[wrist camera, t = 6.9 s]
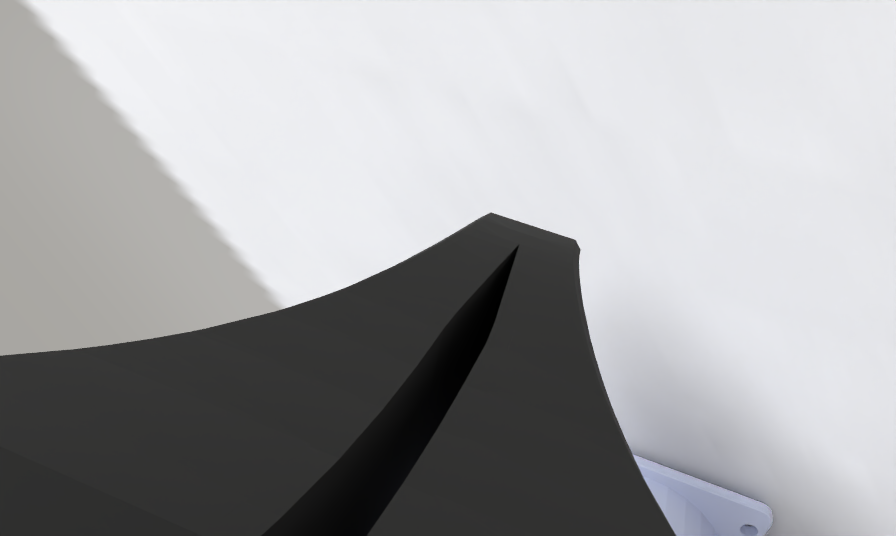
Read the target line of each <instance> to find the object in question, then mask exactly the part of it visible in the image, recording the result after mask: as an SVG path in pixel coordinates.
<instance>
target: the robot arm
mask: <svg viewBox="0 0 896 536" xmlns="http://www.w3.org/2000/svg"><path fill="white" fill-rule="evenodd" d="M579 254H580V248H579V246H578V244H577V242H576V240H574V239H571V238H568V237H565V236H561V235H558V234H555V233H552V232H549V231H546V230H543V229H540V228H537V227H534V226H531V225H528V224H525V223H521V222H518V221H515V220H512V219H509V218H506V217H503V216H500V215H497V214H494V213H489V214H487V215H485V216H483V217H481V218H479V219H477V220H476V221H474V222H472V223H471V224H469V225H467V226H466V227H464V228H462V229H461V230H459V231H457V232H456V233H454V234H452V235H450V236H449V237H447V238H445V239H444V240H442V241H440V242H438V243H437V244H435V245H433V246H431V247H429V248H427V249H425V250H424V251H422V252H420V253H418V254H416V255H414V256H412V257H410V258H409V259H407V260H405V261H403V262H401V263H399V264H397V265H395V266H393V267H391V268H389V269H387V270H384V271H382V272H380V273H378V274H375V275H373V276H371V277H369V278H367V279H364V280H362V281H360V282H358V283H356V284H353V285H351V286H349V287H346V288H344V289H341V290H339V291H336V292H333V293H331V294H328V295H325V296H322V297H319V298H316V299H313V300H310V301H307V302H304V303H301V304H298V305H295V306H292V307H289V308H285V309H282V310H279V311H276V312H272V313H267V314H264V315H260V316H255V317H251V318H247V319H243V320H239V321H235V322H231V323H227V324H223V325H219V326H214V327H210V328H206V329H202V330H197V331H192V332H187V333H181V334H175V335H170V336H164V337H159V338H153V339H147V340H141V341H134V342H127V343H120V344H113V345H106V346H98V347H90V348H82V349H74V350H61V351H50V352H39V353H27V354H16V355H5V356H0V536H765V534H766V533H767V532H768V530H769V529H770V527H771V526H772V523H773V514H772V511H771V509H770V508H769V507H768V506H767V505H765V504H764V503H762V502H759V501H756V500H754V499H751V498H748V497H746V496H743V495H740V494H738V493H735V492H732V491H730V490H727V489H724V488H722V487H719V486H716V485H714V484H711V483H708V482H706V481H703V480H700V479H698V478H695V477H692V476H690V475H687V474H684V473H682V472H679V471H676V470H674V469H671V468H668V467H666V466H663V465H660V464H658V463H655V462H652V461H650V460H647V459H644V458H642V457H639V456H636V455H634V454H632V452H631V450H630V448H629V446H628V444H627V442H626V440H625V437H624V435H623V433H622V430H621V428H620V425H619V423H618V421H617V418H616V416H615V414H614V411H613V408H612V406H611V403H610V400H609V398H608V395H607V392H606V389H605V386H604V383H603V380H602V377H601V374H600V371H599V368H598V364H597V361H596V358H595V354H594V351H593V347H592V343H591V339H590V335H589V330H588V326H587V321H586V316H585V312H584V307H583V301H582V295H581V286H580V277H579ZM747 524H748V525H753V526H751V527H749V526H745V525H747Z"/></svg>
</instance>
